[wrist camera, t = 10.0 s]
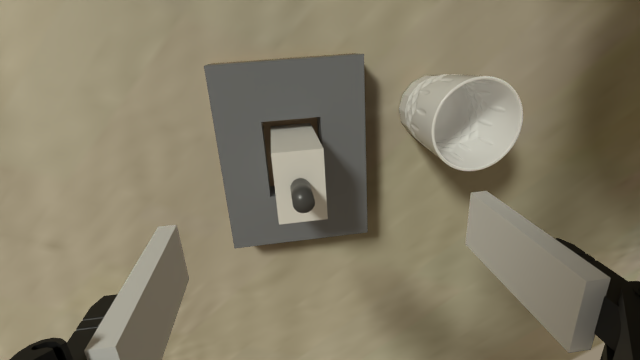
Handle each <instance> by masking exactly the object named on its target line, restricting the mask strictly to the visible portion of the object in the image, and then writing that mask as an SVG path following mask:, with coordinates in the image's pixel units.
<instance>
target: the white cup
mask: <svg viewBox="0 0 640 360" xmlns="http://www.w3.org/2000/svg"><path fill="white" fill-rule="evenodd" d="M399 112H400V118H401V123H402V124H403V125H404V127H405V128H406V129H407V131H408V132H409V133H410V134H411V135H413V136H414V137H415V138H416V139H417V140H418V141H419V142H420V143H421V144H422V145H423V146H424V147H426V148H427V149H428V150H429V151H431V152H432V153H433V154H435V155H436V156H437V157H438V158H440V159H441V160H442V161H443V162H445V163H446V164H447V165H449V166H450V167H452V168H454V169H457V170H461V171H477V170H481V169H485V168H487V167H489V166H491V165H493V164H495V163H497V162H498V161H499V160H501V159H502V158H503V157H504V156H505V155H506V154H507V153H508V152H509V151H510V150H511V148H512V147H513V145H514V144H515V142H516V140H517V138H518V136H519V134H520V131H521V127H522V122H523V108H522V103H521V100H520V98H519V96H518V94H517V92H516V91H515V89H514V88H513V87H512V86H511V85H510V84H508V83H507V82H505V81H504V80H502V79H499V78H496V77H491V76H475V75H459V74H442V75H425V76H423V77H421V78H420V79H418V80H416V81H414V82H412V83H411V84H410V86H409V87H408V88H407V90H406V91H405V92H404V93H403V95H402V99H401V103H400V106H399Z"/></svg>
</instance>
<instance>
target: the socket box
mask: <svg viewBox="0 0 640 360" xmlns="http://www.w3.org/2000/svg"><path fill="white" fill-rule="evenodd" d="M204 69H205V75H206V81H207V87H208V93H209V99H210V105H211V111H212V117H213V123H214V129H215V135H216V141H217V147H218V153H219V159H220V165H221V170H222V176H223V182H224V188H225V194H226V200H227V206H228V212H229V218H230V224H231V230H232V236H233V242H234V248H242V247H250V246H258V245H266V244H275V243H283V242H291V241H299V240H308V239H316V238H324V237H332V236H341V235H349V234H357V233H366V232H367V183H366V134H365V85H364V54H356V53H352V54H338V55H324V56H310V57H297V58H283V59H269V60H255V61H241V62H227V63H213V64H208V65H205V66H204ZM302 123H310V124H311V126H312V127H313V129H314V131H315V133H316V135H317V137H318V139H319V141H320V143H321V145H322V147H323V149H324V165H325V182H326V198H327V215H328V219H324V220H315V221H306V222H297V223H289V224H280V225H279V221H278V212H277V203H276V194H275V186H274V177H273V168H272V159H271V126H279V125H290V124H302Z"/></svg>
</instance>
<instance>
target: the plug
mask: <svg viewBox="0 0 640 360" xmlns="http://www.w3.org/2000/svg"><path fill="white" fill-rule="evenodd" d="M271 159H272V168H273V177H274V186H275V194H276V203H277V212H278V221H279V225H280V224H289V223H297V222H306V221H315V220H324V219H328V215H327V198H326V182H325V165H324V149H323V147H322V145H321V143H320V141H319V139H318V137H317V135H316V133H315V131H314V129H313V127H312V126H311V124H310V123H302V124H290V125H279V126H271Z"/></svg>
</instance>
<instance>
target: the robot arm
mask: <svg viewBox="0 0 640 360" xmlns="http://www.w3.org/2000/svg"><path fill="white" fill-rule="evenodd" d="M466 245H467V247H468V248H469V249H470V250H471V251H472V252H473V253H474V254H475V255H476V256H477V257H478V258H479V259H480V260H481V261H482V262H483V263H484V264H485V265H486V267H487V268H488V269H489V270H490V271H491V272H492V273H493V274H494V275H495V276H496V277H497V278H498V279H499V280H500V281H501V282H502V283H503V284H504V285H505V286H506V288H507V289H508V290H509V291H510V292H511V293H512V294H513V295H514V296H515V297H516V298H517V299H518V300H519V301H520V302H521V303H522V304H523V305H524V306H525V308H526V309H527V310H528V311H529V312H530V313H531V314H532V315H533V316H534V317H535V318H536V319H537V320H538V321H539V322H540V323H541V324H542V325H543V326H544V328H545V329H546V330H547V331H548V332H549V333H550V334H551V335H552V336H553V337H554V338H555V339H556V340H557V341H558V342H559V343H560V344H561V345H562V346H563V348H564V349H565V350H566V351H567V352H568V353H572V352H578V351H584V350H591V347H592V343H593V340H594V336H595V334H596V335H597V336H598V337H599V338H600V339H601V340H602V341H603V342H604V343H605V346H604V349H603V352H602V356H601V359H600V360H640V282H639V281H629V282H628V281H626V280H625V279H624V278H622V277H621V276H619V275H618V274H616V273H615V272H613V271H612V270H610V269H609V268H607V267H606V266H604V265H603V264H601V263H600V262H598V261H595V259H594V258H593V257H591V256H590V255H588V254H585V252H584V251H582V250H581V249H579V248H578V247H576V246H575V245H573V244H571V243H569V242H566V241H564V240H561V239H559V238H556V239H555V238H553V237H552V236H550V235H549V234H547V233H546V232H545V231H543V230H542V229H540V228H539V227H537V226H536V225H535V224H533V223H532V222H530V221H529V220H527V219H526V218H525V217H523V216H522V215H520V214H519V213H517V212H516V211H515V210H513V209H512V208H510V207H509V206H507V205H506V204H505V203H503V202H502V201H500V200H499V199H498V198H496V197H495V196H493V195H492V194H490V193H489V192H488V191H480V192H471V195H470V205H469V215H468V225H467V235H466ZM188 280H189V276H188V272H187V267H186V263H185V259H184V254H183V250H182V245H181V241H180V237H179V232H178V228H177V225H170V226H161V227H158V228H157V229H156V231H155V233H154V234H153V236H152V238H151V240H150V241H149V243H148V245H147V246H146V248H145V250H144V251H143V253H142V255H141V256H140V258H139V260H138V261H137V263H136V265H135V266H134V268H133V270H132V271H131V273H130V275H129V276H128V278H127V280H126V281H125V283H124V285H123V286H122V288H121V290H120V291H119V293H118V294H117V295H109V296H104V297H102V298H101V299H100V300H99V301H98V302H96V303H95V304H94V305H93V306H92V307H91V308H90V309H89V311H88V312H87V314H86V315H85V317H84V318H83V321H81V323H80V324H79V326H78V327H77V330H76V331H75V332H74V333H73V335H72V336H71V338H70V339H69V341H68V342H67V343H66V342H65V341H64V340H63V339H61V338H50V339H45V340H41V341H38V342H36V343H33V344H31V345H29V346H27V347H26V348H24V349H22V350H21V351H19V352H18V353H17V354H15V355H14V356H13V357H12V358H11V359H10V360H162V357H163V354H164V351H165V348H166V345H167V343H168V340H169V337H170V334H171V331H172V328H173V325H174V322H175V319H176V316H177V313H178V310H179V307H180V304H181V301H182V298H183V295H184V292H185V289H186V286H187V283H188Z"/></svg>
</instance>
